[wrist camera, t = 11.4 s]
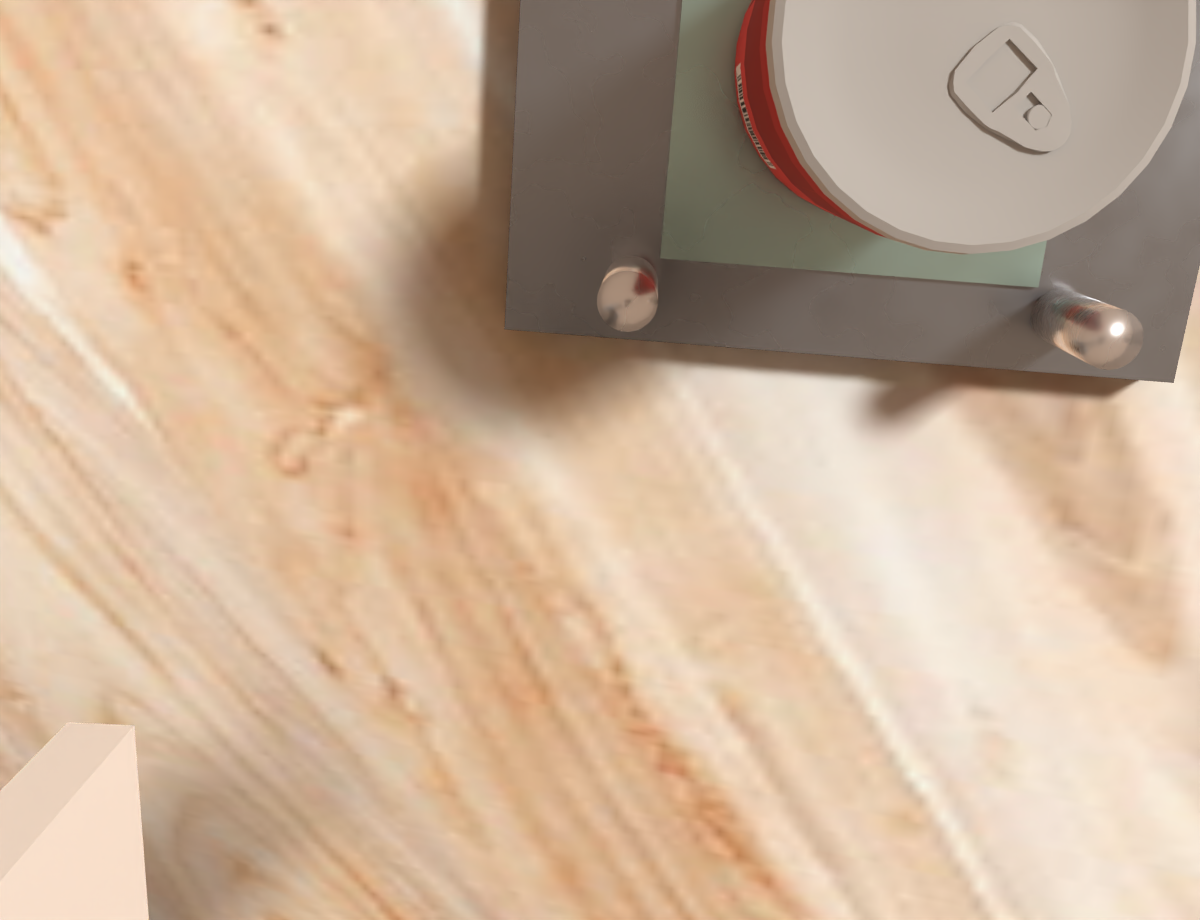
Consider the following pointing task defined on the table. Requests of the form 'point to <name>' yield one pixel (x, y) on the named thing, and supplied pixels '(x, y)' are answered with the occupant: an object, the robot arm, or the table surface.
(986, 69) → the canned food
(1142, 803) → the table surface
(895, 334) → the plate
